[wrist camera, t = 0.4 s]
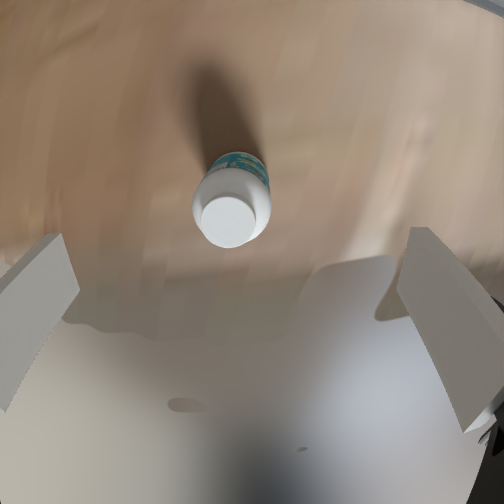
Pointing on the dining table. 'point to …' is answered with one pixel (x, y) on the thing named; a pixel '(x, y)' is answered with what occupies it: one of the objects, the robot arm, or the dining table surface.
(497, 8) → the housing
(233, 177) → the pill bottle
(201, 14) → the dining table surface
